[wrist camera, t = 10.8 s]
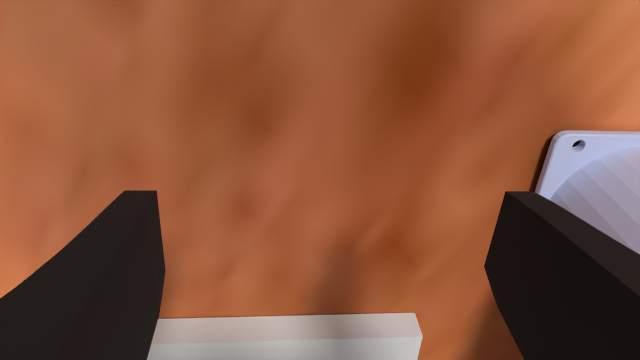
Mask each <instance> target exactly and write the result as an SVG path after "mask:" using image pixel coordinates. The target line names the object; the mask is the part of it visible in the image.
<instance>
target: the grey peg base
mask: <svg viewBox="0 0 640 360" xmlns="http://www.w3.org/2000/svg"><path fill="white" fill-rule="evenodd" d="M422 337H423V336H422V333H421V330H420V327H419V324H418V321H417V318H416V315H415V313H384V314H343V315H302V316H260V317H219V318H178V319H158V321H157V325H156V328H155V332H154V336H153V339H152V343H151V347H150V350H149V354H148V357H147V360H417V358H418V354H419V350H420V345H421V341H422Z"/></svg>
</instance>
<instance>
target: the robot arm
mask: <svg viewBox="0 0 640 360" xmlns="http://www.w3.org/2000/svg"><path fill="white" fill-rule="evenodd" d="M578 140H580V143H579V144H578V145H577V146H575V147H572V146H573V144H574V143H575V142H576V141H578ZM484 267H485V271H486V274H487V277H488V280H489V283H490V286H491V289H492V292H493V295H494V297H495V300H496V303H497V306H498V308H499V310H500V312H501V314H502V316H503V318H504V320H505V322H506V324H507V326H508V328H509V330H510V332H511V334H512V336H513V338H514V340H515V342H516V344H517V346H518V348H519V350H520V352H521V354H522V356H523V358H524V360H640V132H632V131H570V130H566V131H561V132H559V133H557V134H556V135H555V136H554V137H553V139H552V140H551V143H550V146H549V149H548V152H547V155H546V158H545V162H544V165H543V168H542V171H541V174H540V177H539V180H538V183H537V187H536V190H535V192H505V195H504V199H503V202H502V206H501V209H500V213H499V216H498V220H497V223H496V227H495V230H494V234H493V237H492V241H491V244H490V248H489V251H488V255H487V258H486V262H485V265H484ZM164 277H165V263H164V254H163V245H162V236H161V227H160V218H159V208H158V199H157V191H124V192H123V193H122V194H120V195H119V196H118V197H117V198H116V199H115V200H114V201H113V202H112V203H111V204H110V205H109V206H108V207H107V208H105V209H104V210H103V211H102V212H101V213H100V214H99V215H98V216H97V217H96V218H95V219H94V220H93V221H92V222H91V223H90V224H89V225H88V226H87V227H86V228H85V229H84V230H82V231H81V232H80V233H79V234H78V235H77V236H76V237H75V238H74V239H73V240H72V241H70V242H69V243H68V244H67V245H66V246H65V247H64V248H63V249H62V250H61V251H59V252H58V253H57V254H56V255H55V256H54V257H52V258H51V259H50V260H49V261H47V262H46V263H45V264H44V265H43V266H41V267H40V268H39V269H38V270H37V271H35V272H34V273H33V274H32V275H30V276H29V277H28V278H27V279H26V280H24V281H23V282H22V283H21V284H19V285H18V286H17V287H15V288H14V289H13V290H11V291H10V292H9V293H7V294H6V295H4V296H3V297H2V298H0V360H147V357H148V354H149V350H150V347H151V343H152V339H153V336H154V332H155V328H156V325H157V321H158V317H159V312H160V305H161V299H162V292H163V285H164Z"/></svg>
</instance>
